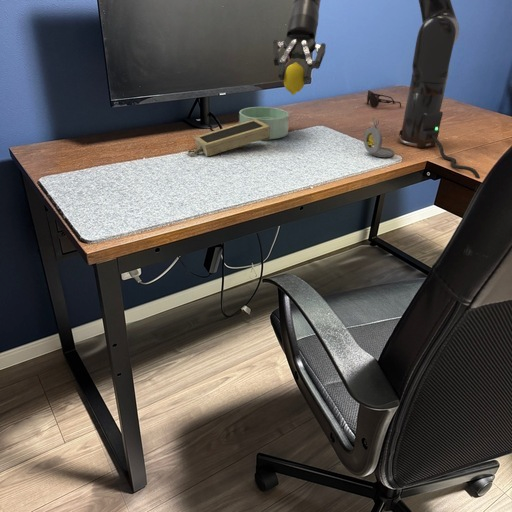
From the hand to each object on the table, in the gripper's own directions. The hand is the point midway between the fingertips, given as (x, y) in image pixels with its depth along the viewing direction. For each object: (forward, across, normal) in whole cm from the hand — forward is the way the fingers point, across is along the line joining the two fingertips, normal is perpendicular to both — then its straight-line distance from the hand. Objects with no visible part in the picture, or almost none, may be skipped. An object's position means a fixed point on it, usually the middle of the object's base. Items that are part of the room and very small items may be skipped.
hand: (293, 79), depth 123 cm
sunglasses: (-29, +26, +55) cm, 68 cm away
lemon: (+2, 0, +4) cm, 5 cm away
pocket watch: (+12, +24, +13) cm, 30 cm away
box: (+18, -15, +8) cm, 25 cm away
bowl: (+5, -9, +20) cm, 22 cm away
